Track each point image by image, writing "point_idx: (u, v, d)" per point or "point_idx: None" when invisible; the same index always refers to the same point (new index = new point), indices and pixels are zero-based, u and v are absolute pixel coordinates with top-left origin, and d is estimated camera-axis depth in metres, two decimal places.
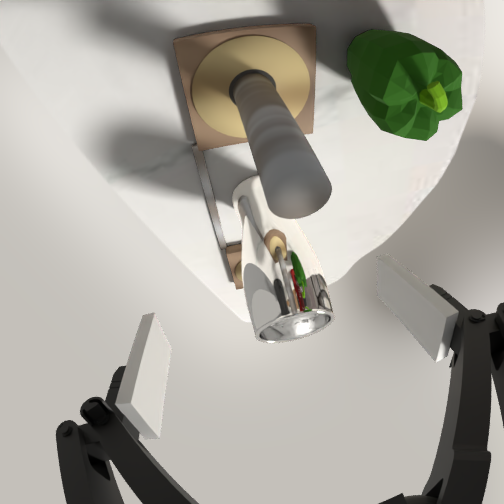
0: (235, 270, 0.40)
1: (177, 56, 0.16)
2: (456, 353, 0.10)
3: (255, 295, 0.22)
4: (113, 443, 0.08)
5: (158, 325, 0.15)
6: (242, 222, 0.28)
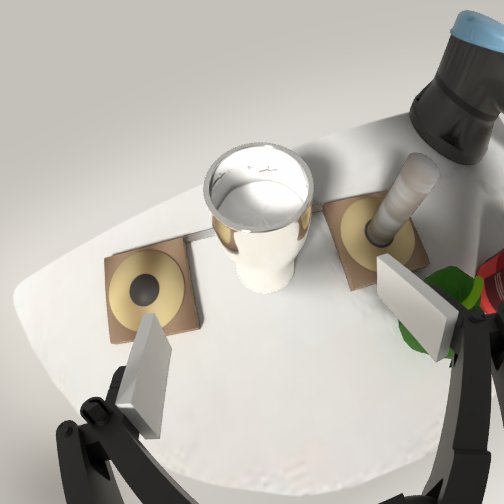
0: (148, 250, 0.31)
1: (389, 191, 0.32)
2: (456, 353, 0.10)
3: None
4: (113, 443, 0.08)
5: (158, 325, 0.15)
6: None
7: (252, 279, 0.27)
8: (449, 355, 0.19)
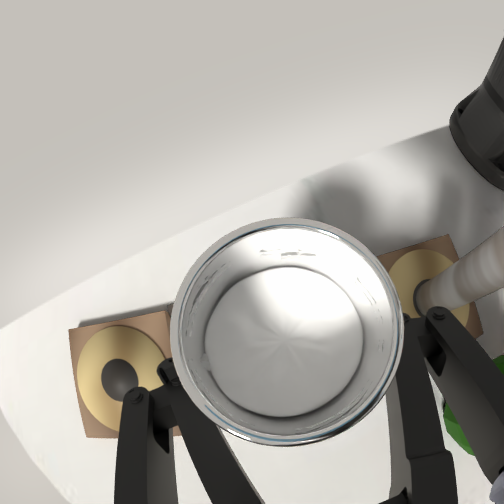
0: (120, 326, 0.21)
1: (440, 237, 0.22)
2: None
3: None
4: (183, 405, 0.09)
5: None
6: None
7: None
8: None
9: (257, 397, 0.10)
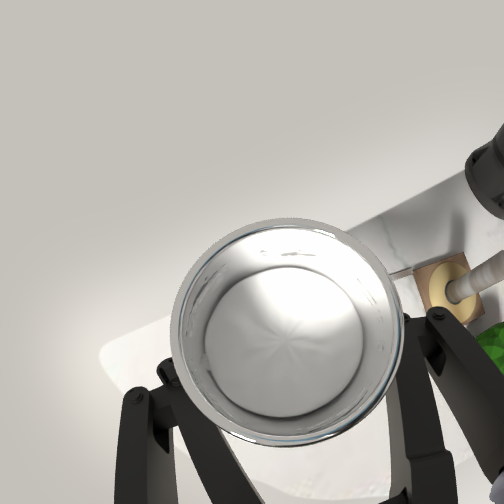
0: None
1: (458, 254, 0.35)
2: None
3: None
4: (183, 405, 0.09)
5: None
6: None
7: None
8: None
9: (257, 397, 0.10)
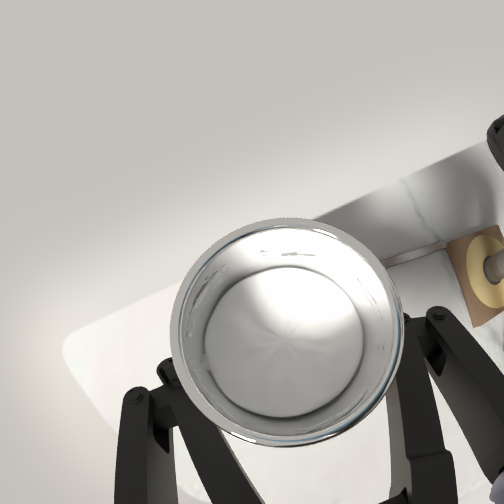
0: None
1: (493, 226, 0.27)
2: None
3: None
4: (183, 405, 0.09)
5: None
6: None
7: None
8: None
9: (257, 398, 0.10)
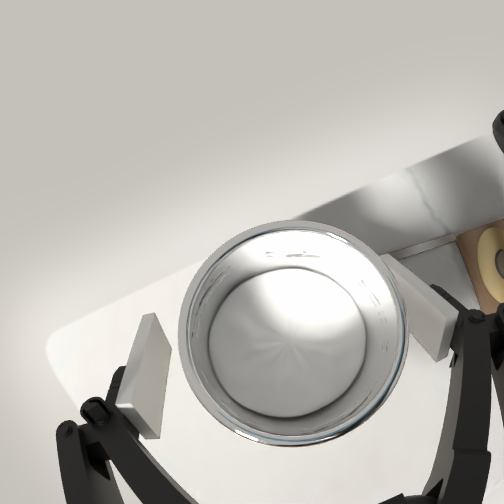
0: None
1: (503, 219, 0.24)
2: (456, 353, 0.10)
3: None
4: (113, 443, 0.08)
5: (158, 325, 0.15)
6: None
7: None
8: None
9: (261, 398, 0.10)
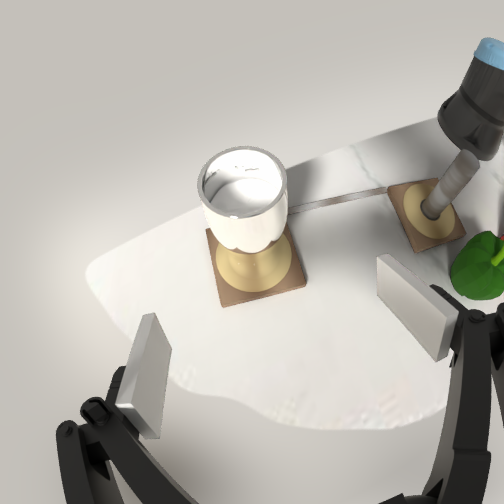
0: None
1: (432, 179, 0.37)
2: (456, 353, 0.10)
3: None
4: (113, 443, 0.08)
5: (158, 325, 0.15)
6: None
7: (241, 265, 0.31)
8: (492, 293, 0.25)
9: None
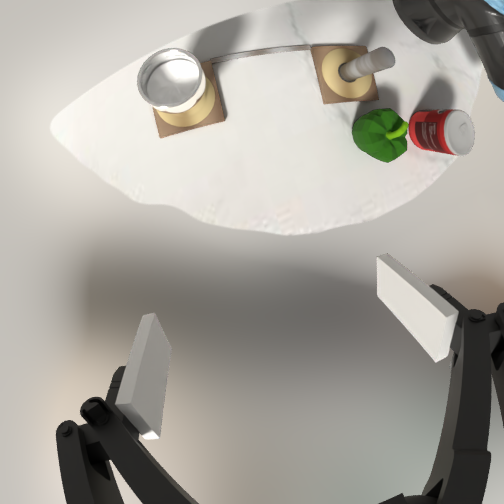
0: None
1: (360, 46, 0.36)
2: (456, 353, 0.10)
3: (188, 55, 0.25)
4: (113, 443, 0.08)
5: (158, 325, 0.15)
6: None
7: None
8: (380, 158, 0.39)
9: (164, 104, 0.28)
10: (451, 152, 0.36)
